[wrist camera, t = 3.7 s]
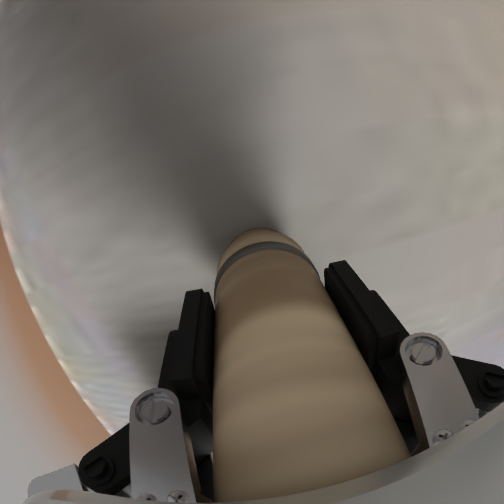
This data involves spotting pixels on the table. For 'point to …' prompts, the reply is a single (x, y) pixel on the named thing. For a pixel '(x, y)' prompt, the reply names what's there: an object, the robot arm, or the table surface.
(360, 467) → the wooden pepper mill
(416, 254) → the table surface
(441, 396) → the robot arm
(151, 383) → the table surface
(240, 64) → the table surface
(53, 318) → the table surface
